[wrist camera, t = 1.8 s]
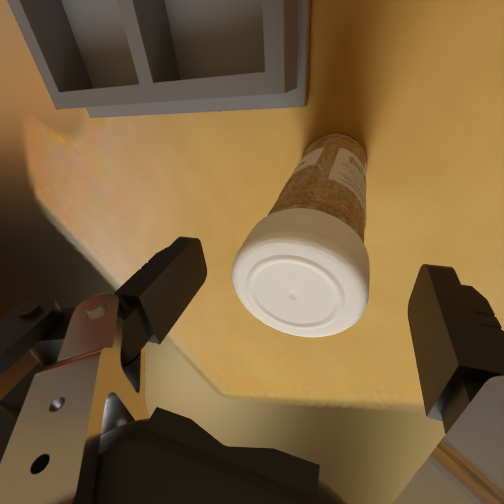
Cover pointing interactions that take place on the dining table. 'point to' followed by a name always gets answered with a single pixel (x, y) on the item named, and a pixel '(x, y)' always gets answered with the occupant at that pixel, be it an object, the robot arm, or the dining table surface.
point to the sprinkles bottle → (311, 246)
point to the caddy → (169, 54)
